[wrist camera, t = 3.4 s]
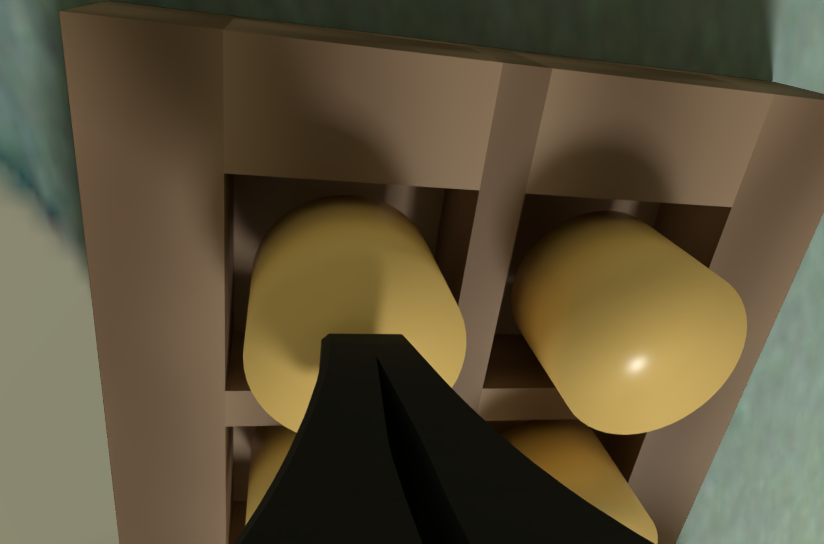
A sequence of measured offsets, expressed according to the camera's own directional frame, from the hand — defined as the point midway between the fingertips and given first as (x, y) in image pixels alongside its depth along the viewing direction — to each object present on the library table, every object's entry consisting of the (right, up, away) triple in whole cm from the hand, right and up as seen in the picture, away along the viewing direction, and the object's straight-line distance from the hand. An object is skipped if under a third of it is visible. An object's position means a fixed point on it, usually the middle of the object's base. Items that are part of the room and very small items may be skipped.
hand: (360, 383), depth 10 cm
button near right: (+5, +1, +5) cm, 7 cm away
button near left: (-1, +2, +3) cm, 4 cm away
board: (+1, 0, +7) cm, 7 cm away
